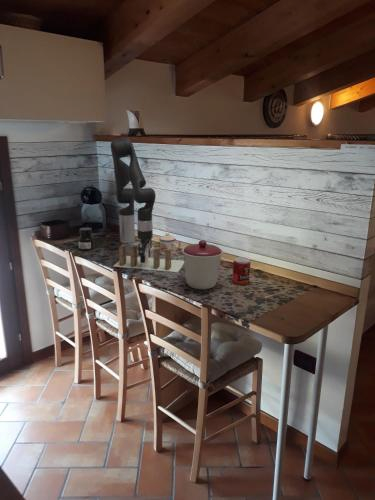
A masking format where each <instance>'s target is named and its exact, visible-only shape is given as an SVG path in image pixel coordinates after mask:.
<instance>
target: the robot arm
mask: <svg viewBox="0 0 375 500" xmlns="http://www.w3.org/2000/svg"><path fill="white" fill-rule="evenodd" d="M110 151H111V157H112V162H113V173H114V181H115V196H116V197H115V198H116V201H117V203H118V204H127V206H125V207H124V208H121V209H119V211H118V214H119V215H118V218H119V220H118V221H119V242H120V243H122V244H132V243H135V242H136V236H135V235H136V234H135V233H137V239H138V240H140V242H138V245H137V256H139V257H140V262H141V263H145V252H146V251H147V248H148V253H149V258H151V249H152V245H153V244H152V242H153V241H152V239H153V238H154V236H153V235H154V233H153V228H154V227H153V226H154V225H153V209H154V205H155V201H156V192H155V191H156V190H154V188H152V187H147V188H145V187H146V185H147V180H146V178H145V176H144V174H143V172H142V170H141V167H140V164H139V160H138V156H137V154H136V151H135V147H134V144H133V141H132V140H131V139H130V137H123V138H119V139H114V140H112V141H111V143H110ZM126 157H130V160H129V165H128V164H127V163H126V162H125V161H123V160H122V158H126ZM129 183H131V188H130V187H129V188H126V186H127V185H128V184H129ZM135 202H136V203H137V204H144V205H143V206H142V207H139V208H138V209H137V225H136V227H137V232H136V231H135V229H136V227H135V223H136V222H135Z"/></svg>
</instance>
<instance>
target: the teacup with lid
mask: <svg viewBox="0 0 375 500" xmlns="http://www.w3.org/2000/svg"><path fill="white" fill-rule="evenodd" d="M159 247H160V255H164V256H165V250H166V249H167V248H171V256H173V255H175V254H176V251H177V249H178V245H177V243H176V237H175V236H172V235H170V233H165V234H164V235H162V236H160V237H159Z"/></svg>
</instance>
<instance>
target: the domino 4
mask: <svg viewBox="0 0 375 500" xmlns="http://www.w3.org/2000/svg"><path fill="white" fill-rule="evenodd" d="M152 251H153V257H152V258H153V262H154V269H158V267H159V266H160V259H161V258H160V257H161V254H160V246H156V247H155V248H154V249H153V250H152Z"/></svg>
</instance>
